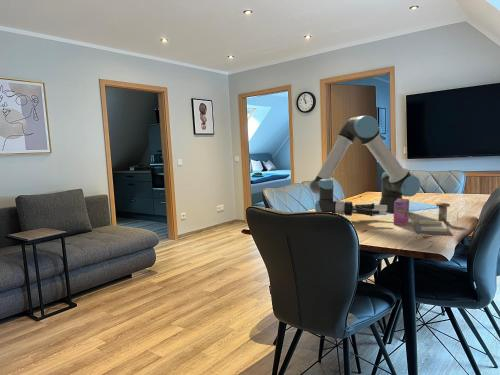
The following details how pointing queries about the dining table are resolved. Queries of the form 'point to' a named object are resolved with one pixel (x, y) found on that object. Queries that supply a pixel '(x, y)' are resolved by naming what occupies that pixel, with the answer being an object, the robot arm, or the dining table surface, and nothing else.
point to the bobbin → (443, 212)
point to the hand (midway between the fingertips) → (386, 210)
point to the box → (401, 211)
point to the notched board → (432, 227)
